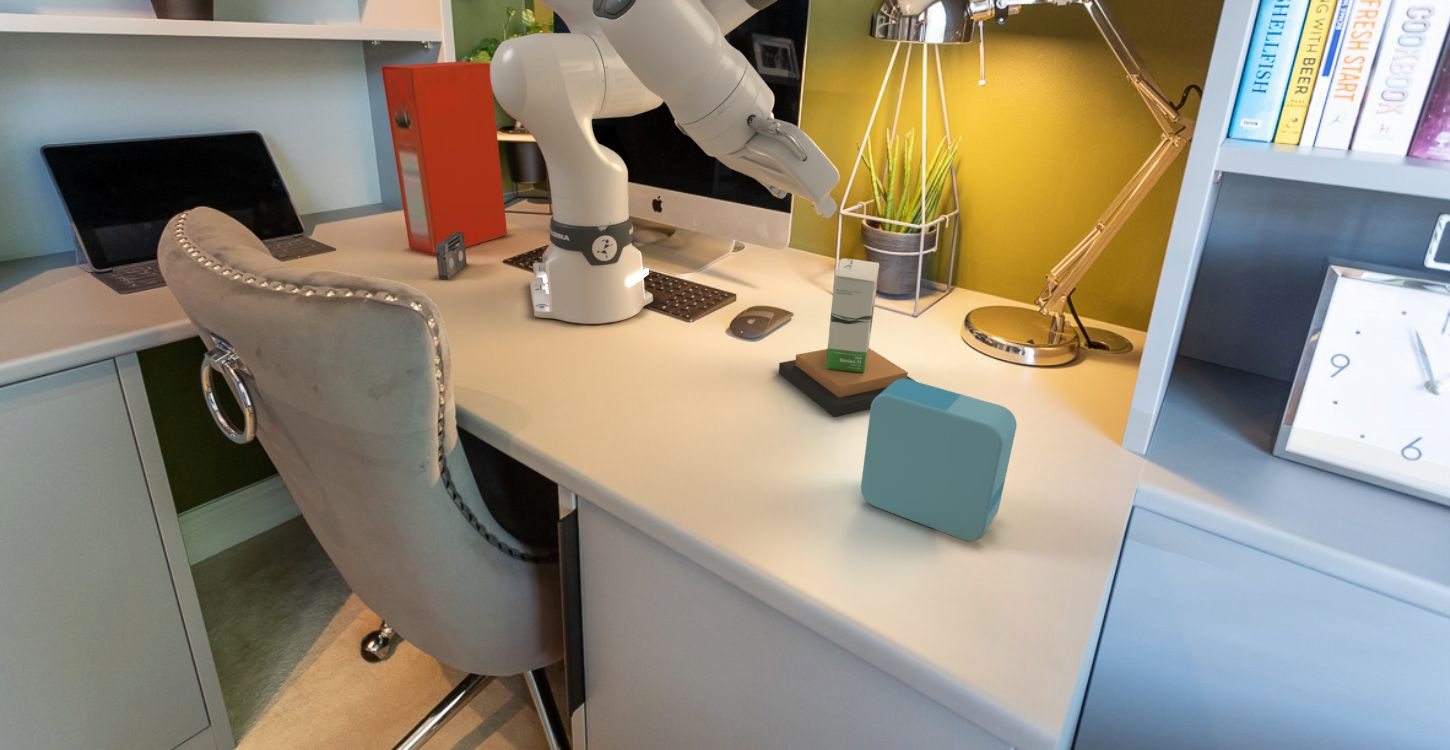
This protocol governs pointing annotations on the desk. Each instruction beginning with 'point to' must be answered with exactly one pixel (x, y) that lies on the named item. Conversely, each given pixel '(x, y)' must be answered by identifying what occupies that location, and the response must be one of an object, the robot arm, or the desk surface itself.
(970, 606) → the desk surface
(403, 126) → the file binder
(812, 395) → the pad stack
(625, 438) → the desk surface
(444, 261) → the mini dv tape
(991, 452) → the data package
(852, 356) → the ink box
